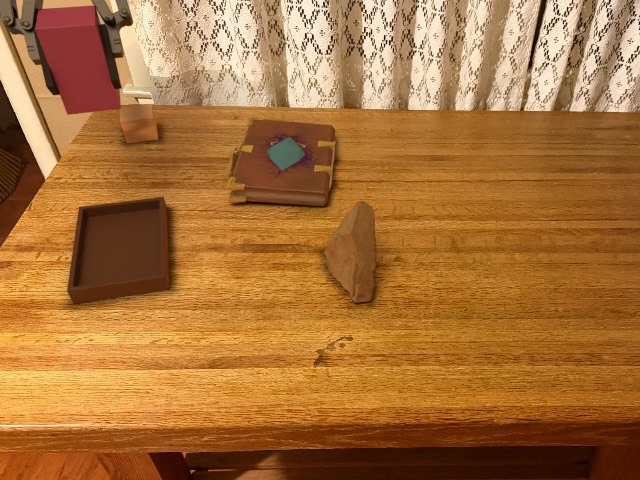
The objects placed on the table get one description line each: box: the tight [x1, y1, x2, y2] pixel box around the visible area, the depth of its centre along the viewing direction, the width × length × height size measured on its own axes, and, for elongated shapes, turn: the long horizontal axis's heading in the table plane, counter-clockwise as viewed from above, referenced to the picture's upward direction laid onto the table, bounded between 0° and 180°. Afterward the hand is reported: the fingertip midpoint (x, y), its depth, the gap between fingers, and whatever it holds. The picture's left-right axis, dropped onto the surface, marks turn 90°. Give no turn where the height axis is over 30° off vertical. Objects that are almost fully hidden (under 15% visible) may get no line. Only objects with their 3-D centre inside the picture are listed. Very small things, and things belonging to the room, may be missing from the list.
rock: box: [323, 200, 377, 304], centre depth 75 cm, size 11×9×10 cm
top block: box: [35, 4, 122, 116], centre depth 69 cm, size 6×6×10 cm
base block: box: [119, 103, 159, 144], centre depth 99 cm, size 5×5×4 cm
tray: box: [66, 196, 171, 305], centre depth 78 cm, size 17×11×2 cm, turn 16°
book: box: [225, 115, 336, 207], centre depth 94 cm, size 16×25×5 cm, turn 1°
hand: (85, 87), depth 68 cm, fingers closed on top block, 6 cm apart
